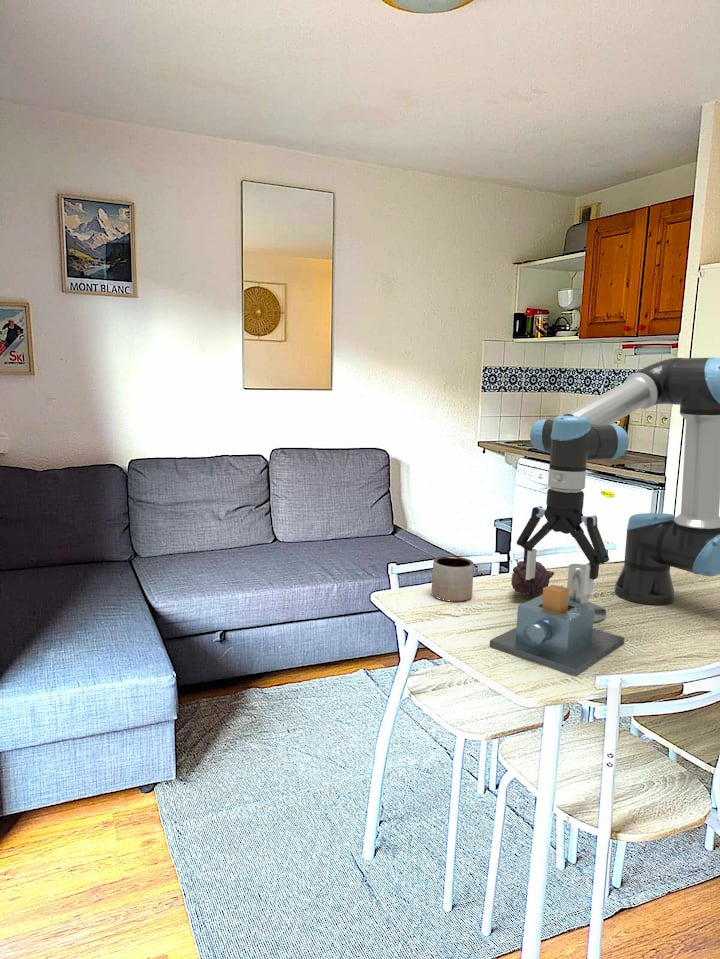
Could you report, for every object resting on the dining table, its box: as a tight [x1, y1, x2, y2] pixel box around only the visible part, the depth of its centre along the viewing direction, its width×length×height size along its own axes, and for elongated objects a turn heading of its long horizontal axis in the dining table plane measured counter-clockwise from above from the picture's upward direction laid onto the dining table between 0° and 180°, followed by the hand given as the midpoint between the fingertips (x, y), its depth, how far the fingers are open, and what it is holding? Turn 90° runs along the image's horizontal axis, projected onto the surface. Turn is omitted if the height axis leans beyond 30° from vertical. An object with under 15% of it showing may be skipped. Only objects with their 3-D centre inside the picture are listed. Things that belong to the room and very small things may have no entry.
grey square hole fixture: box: [489, 563, 625, 677], centre depth 151 cm, size 26×20×16 cm
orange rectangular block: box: [542, 584, 569, 613], centre depth 149 cm, size 4×4×12 cm
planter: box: [431, 555, 475, 602], centre depth 182 cm, size 11×11×10 cm
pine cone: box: [510, 560, 555, 597], centre depth 184 cm, size 18×10×10 cm, turn 137°
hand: (558, 585), depth 147 cm, fingers open, 13 cm apart
